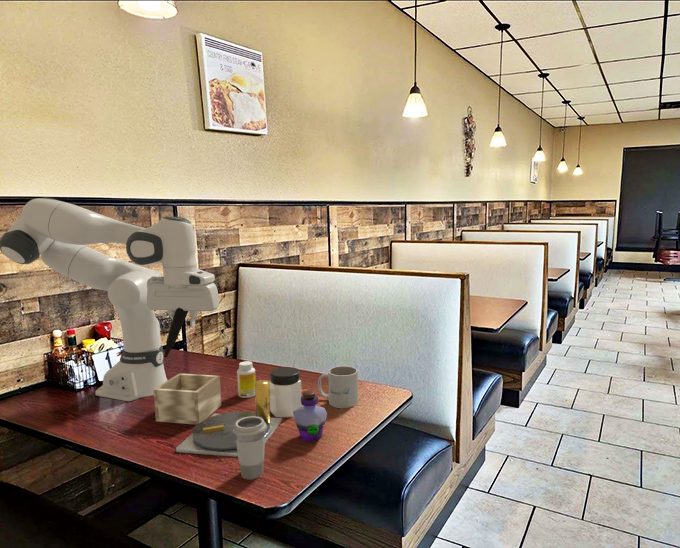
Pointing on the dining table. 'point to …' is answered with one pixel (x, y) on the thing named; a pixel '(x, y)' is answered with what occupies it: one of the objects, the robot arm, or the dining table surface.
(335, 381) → the mug
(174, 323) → the microphone
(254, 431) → the cup
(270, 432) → the base
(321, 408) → the potion bottle
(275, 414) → the jar
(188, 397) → the open wooden box
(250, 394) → the supplement bottle
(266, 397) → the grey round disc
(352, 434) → the dining table surface
